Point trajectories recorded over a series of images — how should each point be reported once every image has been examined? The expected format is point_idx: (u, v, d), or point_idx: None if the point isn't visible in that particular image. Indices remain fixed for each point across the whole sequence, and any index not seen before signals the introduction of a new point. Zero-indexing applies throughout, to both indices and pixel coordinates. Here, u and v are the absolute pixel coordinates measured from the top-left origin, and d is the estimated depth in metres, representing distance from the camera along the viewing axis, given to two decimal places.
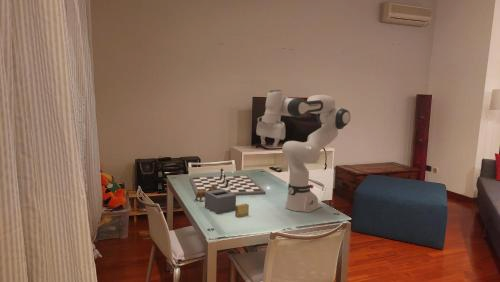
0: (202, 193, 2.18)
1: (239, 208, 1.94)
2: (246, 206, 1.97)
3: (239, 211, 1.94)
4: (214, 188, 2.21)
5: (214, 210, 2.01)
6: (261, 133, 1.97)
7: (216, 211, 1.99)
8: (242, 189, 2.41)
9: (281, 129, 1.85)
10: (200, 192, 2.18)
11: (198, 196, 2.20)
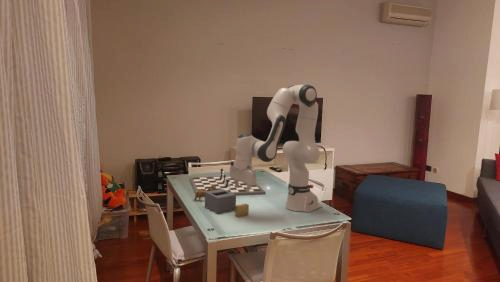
0: (201, 193, 2.18)
1: (239, 208, 1.94)
2: (246, 206, 1.97)
3: (239, 211, 1.94)
4: (213, 188, 2.20)
5: (214, 210, 2.01)
6: (234, 177, 1.97)
7: (216, 211, 1.99)
8: (242, 189, 2.41)
9: (252, 175, 1.86)
10: (199, 192, 2.18)
11: (197, 196, 2.20)
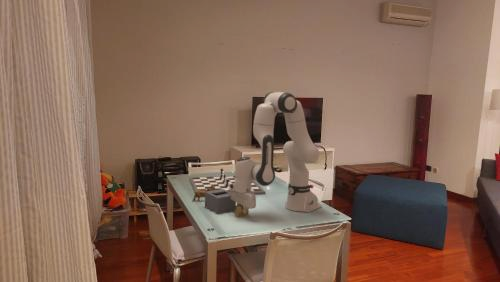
0: (200, 193, 2.18)
1: (239, 208, 1.94)
2: None
3: (239, 211, 1.94)
4: (212, 188, 2.20)
5: (214, 210, 2.01)
6: (234, 199, 1.99)
7: (216, 211, 1.99)
8: None
9: (251, 199, 1.87)
10: (198, 192, 2.18)
11: (196, 196, 2.20)
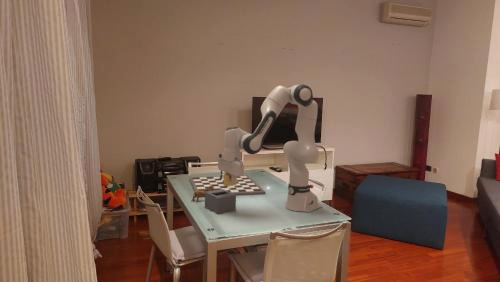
0: (199, 193, 2.18)
1: (227, 177, 1.97)
2: None
3: (227, 180, 1.97)
4: (211, 188, 2.20)
5: (214, 210, 2.01)
6: (222, 168, 2.02)
7: (216, 211, 1.99)
8: (242, 189, 2.41)
9: (239, 167, 1.90)
10: (197, 192, 2.18)
11: (195, 196, 2.20)
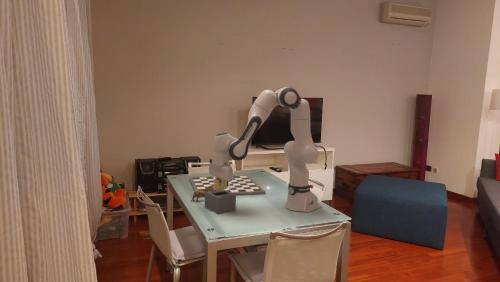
0: (199, 193, 2.18)
1: (217, 181, 2.02)
2: None
3: (217, 185, 2.03)
4: (211, 188, 2.20)
5: (214, 210, 2.01)
6: (213, 173, 2.08)
7: (216, 211, 1.99)
8: (242, 189, 2.41)
9: (228, 172, 1.96)
10: (197, 192, 2.17)
11: (195, 196, 2.20)
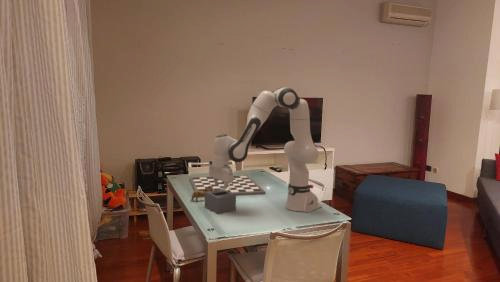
0: (198, 193, 2.18)
1: None
2: None
3: None
4: (210, 188, 2.20)
5: (214, 210, 2.01)
6: (213, 175, 2.08)
7: (216, 211, 1.99)
8: (242, 189, 2.41)
9: (228, 174, 1.96)
10: (196, 192, 2.17)
11: (194, 196, 2.19)
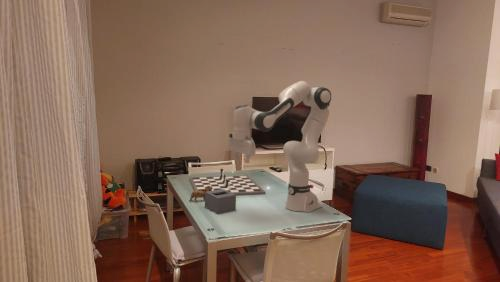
0: (197, 193, 2.17)
1: None
2: None
3: None
4: (209, 188, 2.20)
5: (214, 210, 2.01)
6: (233, 149, 1.98)
7: (216, 211, 1.99)
8: (242, 189, 2.41)
9: (250, 145, 1.86)
10: (195, 192, 2.17)
11: (193, 196, 2.19)
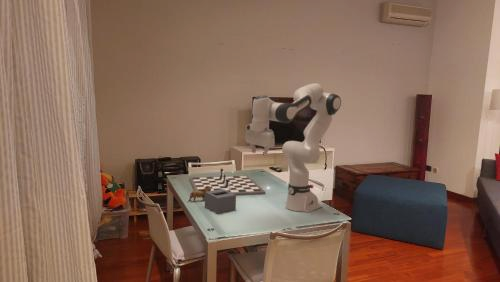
0: (196, 193, 2.17)
1: None
2: None
3: None
4: (208, 188, 2.20)
5: (214, 210, 2.01)
6: (250, 141, 1.91)
7: (216, 211, 1.99)
8: (242, 189, 2.41)
9: (270, 137, 1.79)
10: (194, 192, 2.17)
11: (192, 197, 2.19)
